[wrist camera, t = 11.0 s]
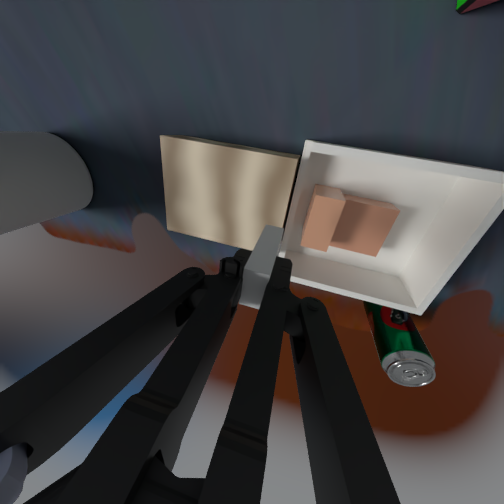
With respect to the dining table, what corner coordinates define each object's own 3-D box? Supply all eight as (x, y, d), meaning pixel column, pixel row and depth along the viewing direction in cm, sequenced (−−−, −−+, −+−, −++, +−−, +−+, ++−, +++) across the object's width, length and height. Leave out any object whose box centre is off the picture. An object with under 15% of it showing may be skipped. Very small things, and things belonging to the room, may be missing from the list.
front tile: (300, 245, 25) (326, 252, 24) (315, 194, 21) (345, 201, 21) (302, 226, 30) (324, 231, 29) (315, 183, 27) (339, 188, 26)
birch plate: (185, 218, 35) (167, 229, 30) (182, 135, 28) (159, 135, 24) (280, 240, 32) (275, 256, 28) (300, 155, 26) (297, 159, 22)
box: (280, 251, 33) (273, 276, 27) (306, 139, 25) (304, 140, 19) (400, 280, 30) (420, 315, 24) (472, 165, 22) (528, 176, 16)
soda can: (356, 294, 33) (375, 364, 23) (390, 281, 31) (428, 353, 21) (372, 316, 34) (396, 392, 24) (405, 305, 32) (448, 384, 22)
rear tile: (375, 257, 26) (370, 246, 29) (400, 210, 23) (391, 203, 25) (326, 245, 27) (325, 235, 29) (344, 199, 24) (341, 192, 26)
